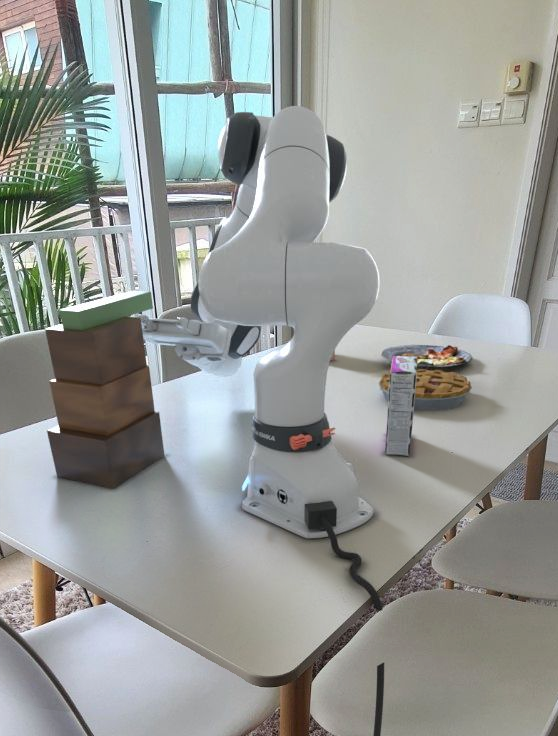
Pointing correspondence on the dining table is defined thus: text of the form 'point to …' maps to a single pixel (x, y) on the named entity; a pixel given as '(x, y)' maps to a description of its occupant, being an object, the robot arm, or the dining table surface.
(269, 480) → the robot arm
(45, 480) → the dining table surface
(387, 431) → the candy bar box
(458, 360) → the food plate
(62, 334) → the block stack
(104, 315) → the green bar
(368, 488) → the dining table surface
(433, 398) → the pie
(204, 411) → the dining table surface
